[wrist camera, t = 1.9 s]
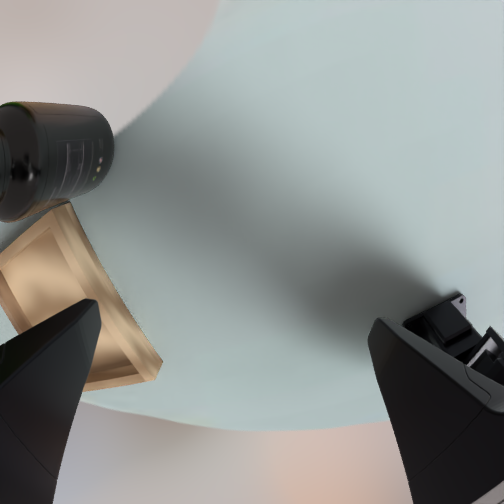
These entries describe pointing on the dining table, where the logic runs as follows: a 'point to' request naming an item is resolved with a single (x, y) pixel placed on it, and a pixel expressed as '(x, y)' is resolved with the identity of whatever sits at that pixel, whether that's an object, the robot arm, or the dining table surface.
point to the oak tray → (73, 296)
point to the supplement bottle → (50, 155)
